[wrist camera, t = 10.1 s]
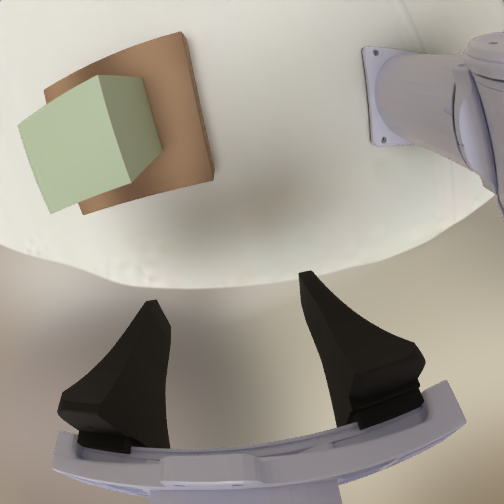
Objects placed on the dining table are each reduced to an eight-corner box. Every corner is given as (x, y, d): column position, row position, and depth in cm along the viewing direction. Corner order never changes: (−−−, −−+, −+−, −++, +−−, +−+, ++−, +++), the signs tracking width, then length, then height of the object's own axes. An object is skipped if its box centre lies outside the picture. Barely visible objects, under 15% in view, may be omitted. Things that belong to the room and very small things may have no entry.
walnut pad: (187, 39, 14) (181, 31, 12) (214, 167, 20) (213, 180, 17) (64, 87, 14) (43, 90, 12) (98, 199, 20) (83, 215, 17)
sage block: (142, 77, 13) (97, 74, 8) (163, 150, 16) (131, 182, 10) (75, 108, 13) (17, 125, 8) (97, 174, 16) (50, 214, 11)
